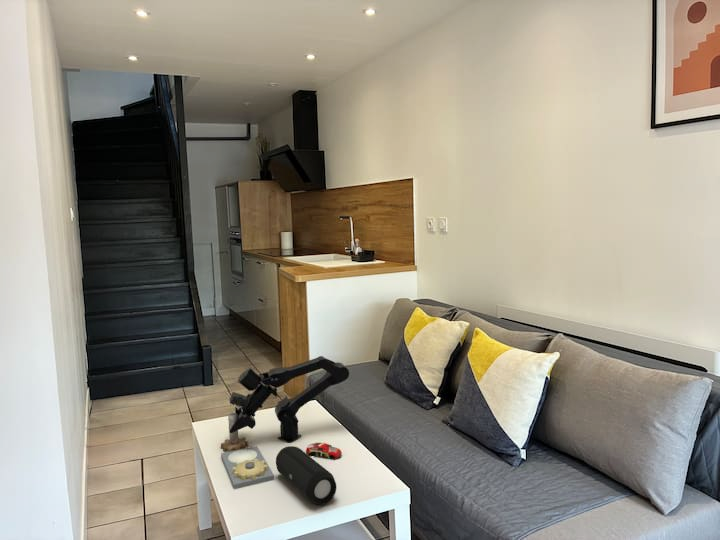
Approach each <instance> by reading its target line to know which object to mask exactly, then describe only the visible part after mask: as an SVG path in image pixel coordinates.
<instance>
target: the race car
mask: <svg viewBox="0 0 720 540" xmlns="http://www.w3.org/2000/svg"><path fill="white" fill-rule="evenodd" d="M305 449H306V450H305V453H306V454H307V455H308V456H310V457H312V456H314V457H315V458H316V457H317V458H321V457H322V459H330V460H332V459H334V460H337V459H339V458H341V457H342V453H343V452H342V450H341V449H340V448H338V447H335V446H332V444H329V443H326V442H325V443H324V442H315V443H314V442H313V443H310V444H309V443H308V445H307V447H306V448H305Z"/></svg>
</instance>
